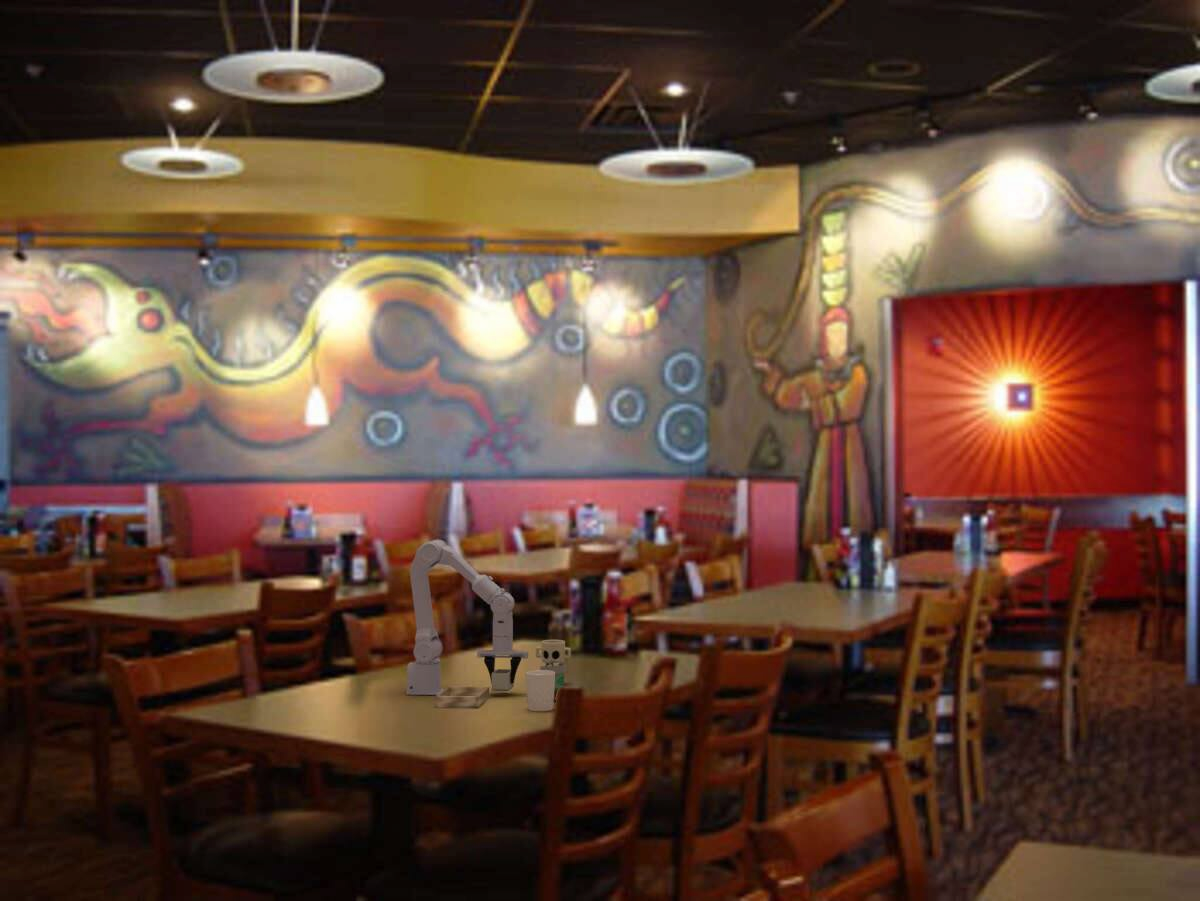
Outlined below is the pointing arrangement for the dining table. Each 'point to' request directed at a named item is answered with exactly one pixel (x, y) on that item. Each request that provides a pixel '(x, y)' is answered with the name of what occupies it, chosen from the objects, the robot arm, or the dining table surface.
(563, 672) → the food container
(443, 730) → the dining table surface
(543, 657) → the character mug
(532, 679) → the white cup
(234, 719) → the dining table surface
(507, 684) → the small crate
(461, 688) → the big crate
